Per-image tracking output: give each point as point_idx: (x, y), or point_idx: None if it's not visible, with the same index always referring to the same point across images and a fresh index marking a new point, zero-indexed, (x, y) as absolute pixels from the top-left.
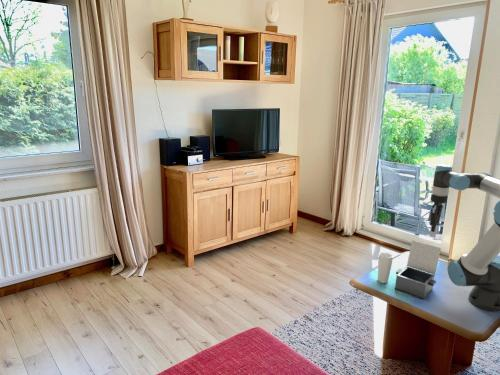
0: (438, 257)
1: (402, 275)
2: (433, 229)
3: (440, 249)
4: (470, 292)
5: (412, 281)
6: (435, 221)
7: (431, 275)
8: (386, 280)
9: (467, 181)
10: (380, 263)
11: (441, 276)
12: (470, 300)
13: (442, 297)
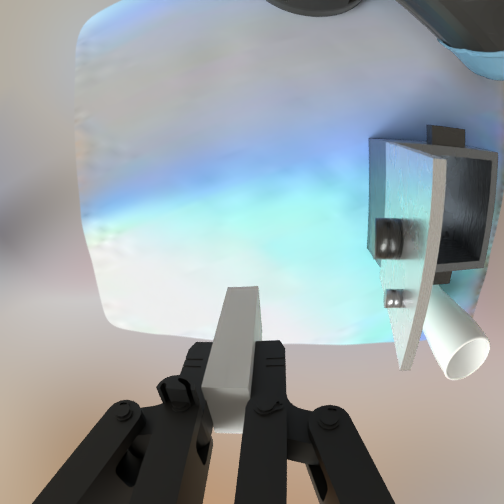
0: (421, 151)
1: (442, 256)
2: (285, 369)
3: (437, 157)
4: (332, 3)
5: (491, 204)
6: (375, 478)
7: None
8: (438, 285)
9: None
10: (470, 342)
11: (209, 152)
12: (354, 5)
13: (401, 92)
